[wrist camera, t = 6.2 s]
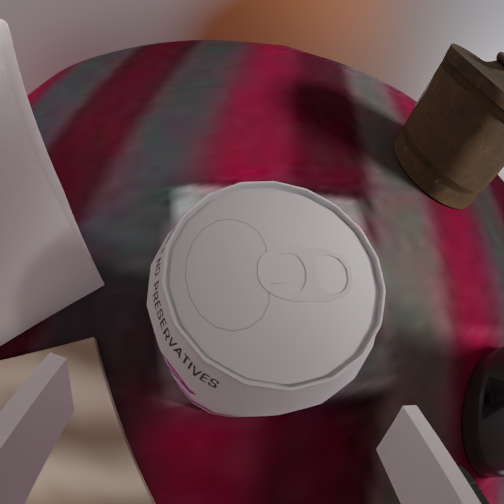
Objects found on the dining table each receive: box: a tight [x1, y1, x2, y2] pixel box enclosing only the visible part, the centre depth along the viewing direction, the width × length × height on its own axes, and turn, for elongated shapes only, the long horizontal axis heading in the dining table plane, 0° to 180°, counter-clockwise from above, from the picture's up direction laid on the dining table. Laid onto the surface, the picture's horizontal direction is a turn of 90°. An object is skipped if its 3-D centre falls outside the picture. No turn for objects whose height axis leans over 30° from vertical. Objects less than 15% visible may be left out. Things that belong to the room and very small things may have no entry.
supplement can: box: [147, 181, 386, 417], centre depth 16 cm, size 8×8×15 cm
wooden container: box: [394, 44, 504, 209], centre depth 30 cm, size 15×15×22 cm
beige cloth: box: [0, 337, 156, 504], centre depth 16 cm, size 13×12×1 cm
